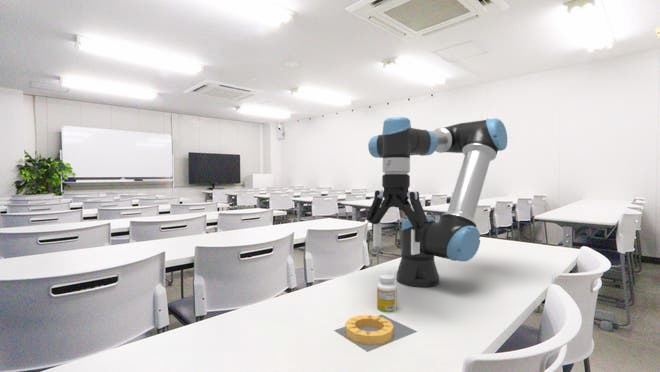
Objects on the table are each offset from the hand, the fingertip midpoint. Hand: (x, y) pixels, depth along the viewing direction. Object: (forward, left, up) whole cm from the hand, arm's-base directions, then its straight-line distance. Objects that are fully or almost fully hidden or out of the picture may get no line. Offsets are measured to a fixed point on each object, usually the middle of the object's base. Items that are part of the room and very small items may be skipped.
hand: (395, 249), depth 91 cm
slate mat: (+6, -14, -17) cm, 23 cm away
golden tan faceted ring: (+6, -15, -17) cm, 24 cm away
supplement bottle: (-2, -1, -18) cm, 18 cm away
